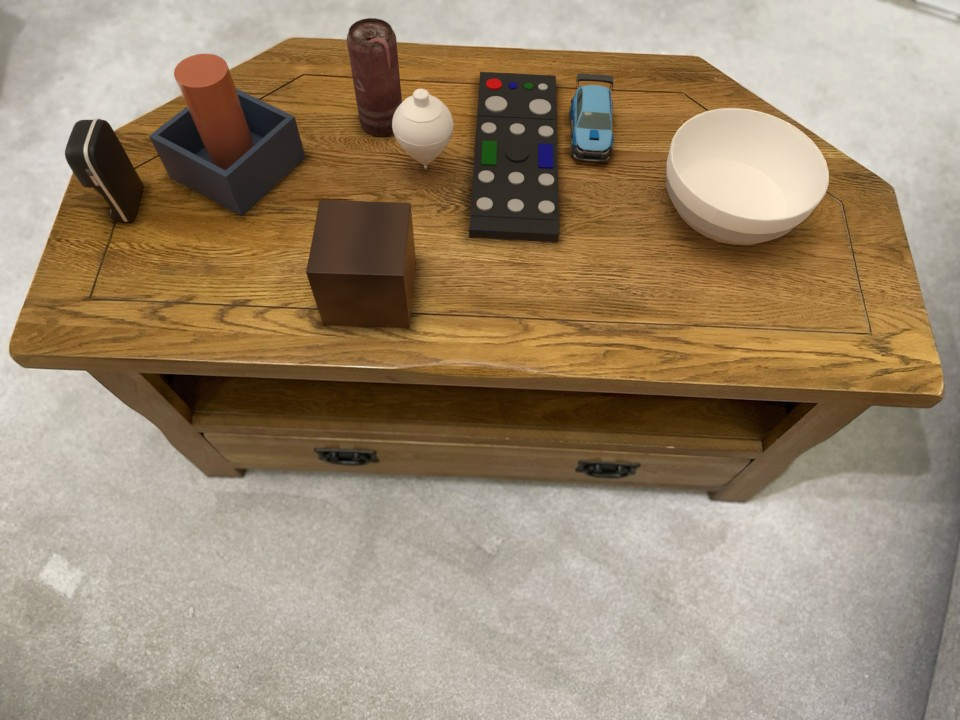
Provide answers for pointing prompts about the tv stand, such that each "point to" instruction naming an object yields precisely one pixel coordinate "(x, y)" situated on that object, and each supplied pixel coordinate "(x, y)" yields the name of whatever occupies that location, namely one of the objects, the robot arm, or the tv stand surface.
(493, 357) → the tv stand surface
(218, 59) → the orange cylinder rod
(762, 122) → the bowl
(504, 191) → the remote control
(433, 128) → the spinning top
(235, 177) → the tub
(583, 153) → the toy car
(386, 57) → the can
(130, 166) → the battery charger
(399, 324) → the stand
